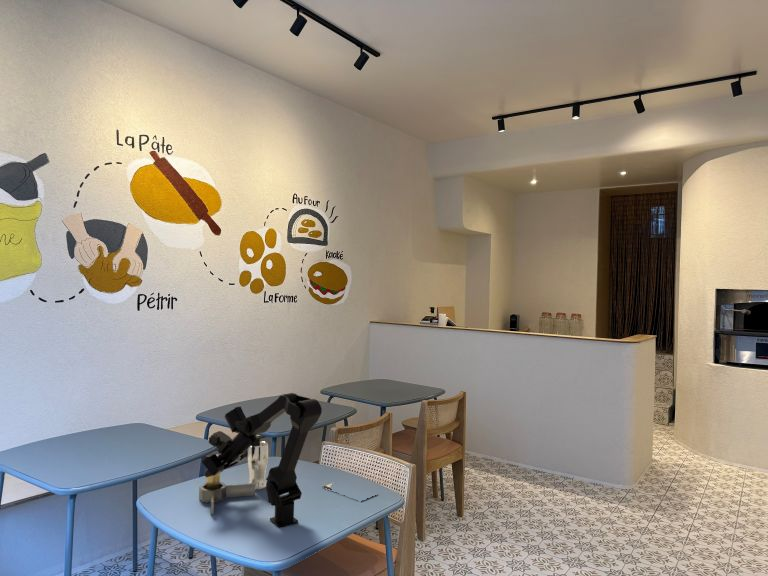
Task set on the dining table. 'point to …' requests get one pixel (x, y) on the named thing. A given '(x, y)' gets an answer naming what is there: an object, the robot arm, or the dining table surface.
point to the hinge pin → (213, 481)
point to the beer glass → (258, 464)
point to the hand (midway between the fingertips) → (209, 473)
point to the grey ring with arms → (225, 492)
